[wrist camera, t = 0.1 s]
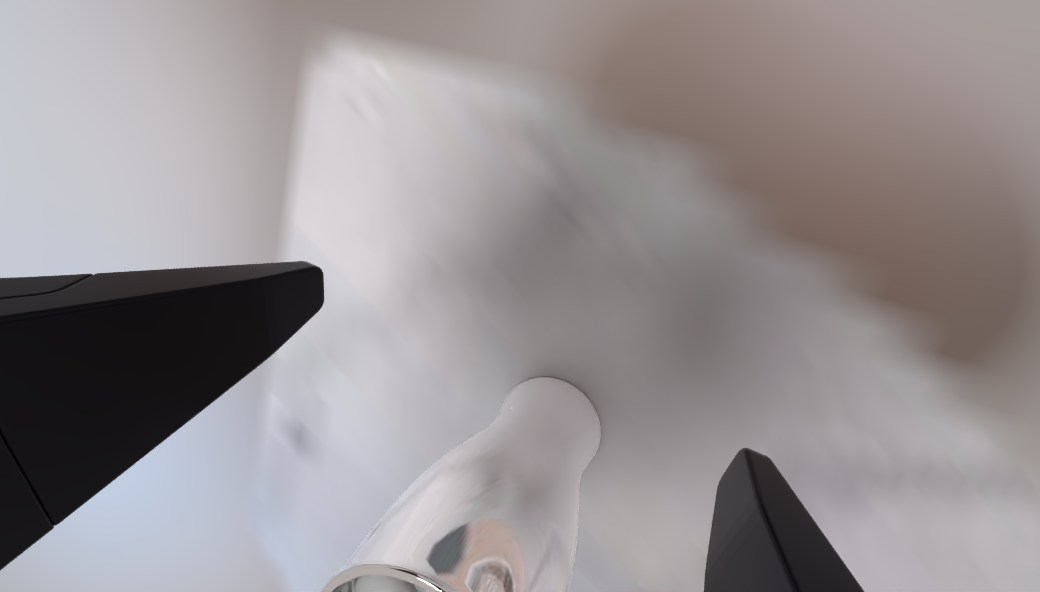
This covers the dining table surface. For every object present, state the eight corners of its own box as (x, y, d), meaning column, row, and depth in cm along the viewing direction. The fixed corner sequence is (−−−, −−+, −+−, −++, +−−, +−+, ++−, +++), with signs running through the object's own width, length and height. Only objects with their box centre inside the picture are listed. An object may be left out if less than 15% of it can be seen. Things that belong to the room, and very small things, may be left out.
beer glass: (626, 397, 24) (567, 654, 10) (587, 498, 26) (490, 837, 12) (512, 351, 25) (323, 513, 11) (483, 449, 27) (290, 691, 13)
